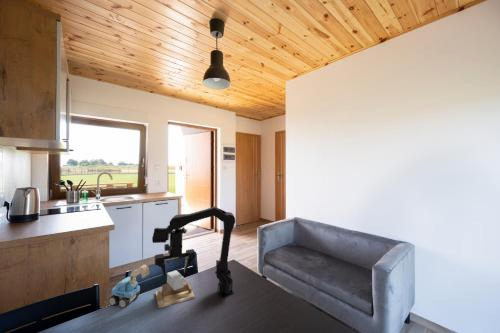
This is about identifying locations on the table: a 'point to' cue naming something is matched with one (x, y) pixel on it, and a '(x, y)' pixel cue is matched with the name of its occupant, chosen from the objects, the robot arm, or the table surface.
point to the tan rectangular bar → (169, 290)
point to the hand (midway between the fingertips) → (175, 274)
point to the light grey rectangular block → (175, 280)
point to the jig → (174, 297)
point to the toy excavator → (128, 288)
